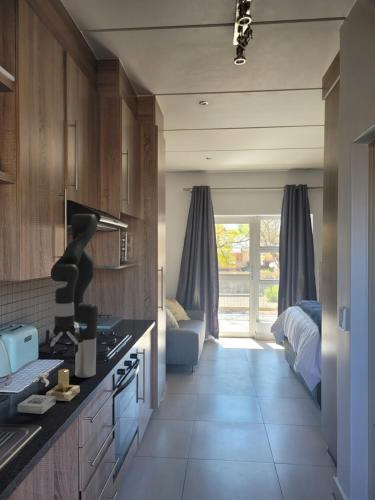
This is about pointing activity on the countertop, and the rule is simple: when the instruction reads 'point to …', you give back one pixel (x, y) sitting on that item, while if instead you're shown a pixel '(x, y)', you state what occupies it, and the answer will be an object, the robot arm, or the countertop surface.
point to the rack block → (64, 393)
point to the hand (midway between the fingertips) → (64, 354)
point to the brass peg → (63, 380)
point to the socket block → (37, 404)
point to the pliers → (43, 379)
